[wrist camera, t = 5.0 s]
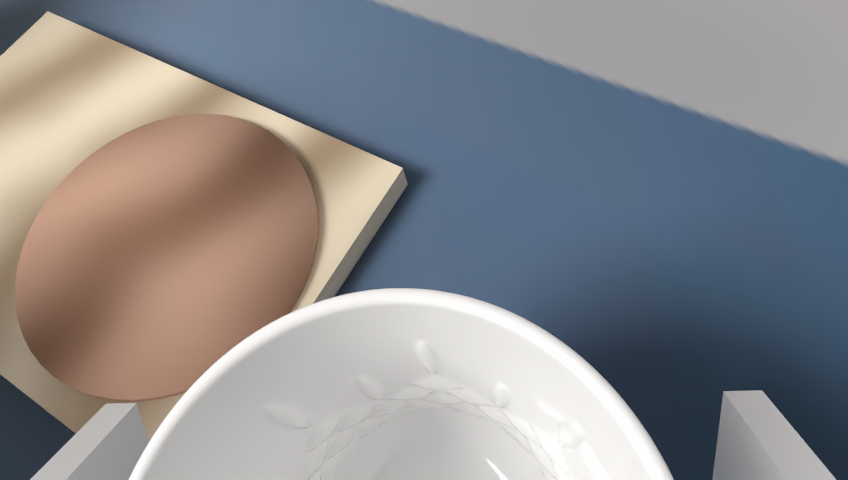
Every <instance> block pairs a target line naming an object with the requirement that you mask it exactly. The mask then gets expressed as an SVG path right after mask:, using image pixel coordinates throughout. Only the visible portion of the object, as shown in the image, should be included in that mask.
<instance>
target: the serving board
mask: <svg viewBox="0 0 848 480" xmlns="http://www.w3.org/2000/svg"><path fill="white" fill-rule="evenodd" d="M407 185H408V184H407V181H406V177H405V174H404V170H403V168H402V167H399V166H397V165H395V164H393V163H390V162H388V161H386V160H384V159H381V158H379V157H377V156H374V155H372V154H370V153H368V152H365V151H363V150H361V149H359V148H356V147H354V146H352V145H350V144H347V143H345V142H343V141H341V140H338V139H336V138H334V137H331V136H329V135H327V134H325V133H322V132H320V131H318V130H316V129H313V128H311V127H309V126H307V125H304V124H302V123H300V122H297V121H295V120H293V119H291V118H288V117H286V116H284V115H282V114H279V113H277V112H275V111H273V110H270V109H268V108H266V107H264V106H261V105H259V104H257V103H254V102H252V101H250V100H248V99H245V98H243V97H241V96H239V95H236V94H234V93H232V92H230V91H227V90H225V89H223V88H220V87H218V86H216V85H214V84H211V83H209V82H207V81H205V80H202V79H200V78H198V77H196V76H193V75H191V74H189V73H187V72H184V71H182V70H180V69H177V68H175V67H173V66H171V65H168V64H166V63H164V62H162V61H159V60H157V59H155V58H153V57H150V56H148V55H146V54H143V53H141V52H139V51H137V50H134V49H132V48H130V47H128V46H125V45H123V44H121V43H119V42H116V41H114V40H112V39H109V38H107V37H105V36H103V35H100V34H98V33H96V32H94V31H91V30H89V29H87V28H85V27H82V26H80V25H78V24H76V23H73V22H71V21H69V20H66V19H64V18H62V17H60V16H57V15H55V14H53V13H51V12H48V11H47V12H46V13H45V14H44V15H43V16H42V17H41V18H40V19H39V20H38V21H37V22H36V23H35V24H34V25H33V26H31V27H30V28H29V29H28V30H27V31H26V32H25V33H24V34H23V35H22V36H21V37H20V38H19V39H18V40H17V41H16V42H15V43H14V44H13V45H11V46H10V47H9V48H8V49H7V50H6V51H5V52H4V53H3V54H2V55H1V56H0V375H2V376H3V377H4V378H6V379H7V380H8V381H9V382H11V383H12V384H13V385H14V386H16V387H17V388H18V389H20V390H21V391H22V392H23V393H25V394H26V395H27V396H28V397H30V398H31V399H32V400H34V401H35V402H36V403H37V404H39V405H40V406H41V407H42V408H44V409H45V410H46V411H48V412H49V413H50V414H51V415H53V416H54V417H55V418H56V419H58V420H59V421H60V422H62V423H63V424H64V425H65V426H67V427H68V428H69V429H70V430H72V431H73V432H74V433H77V432H78V431H79V430H80V429H81V428H82V427H83V426H84V425H85V424H86V423H87V422H88V421H89V420H90V419H91V418H92V417H93V416H94V415H95V414H96V413H97V412H98V411H99V410H100V409H101V408H102V407H103V406H104V405H105V404H111V403H137V406H138V410H139V413H140V416H141V419H142V422H143V425H144V429H145V432H146V435H147V438H148V441H150V440H151V438H152V437H153V435H154V434H155V432H156V431H157V429H158V428H159V426H160V425H161V423H162V422H163V420H164V419H165V418H166V416H167V415H168V414H169V412H170V411H171V410H172V408H173V407H174V406H175V405H176V403H177V402H178V401H179V400H180V398H181V397H182V396H183V395H184V394H185V393H186V391H187V390H188V389H189V388H190V387H191V386H192V385H193V384H194V383H195V382H196V381H197V380H198V379H199V378H200V377H201V376H202V375H203V374H204V373H205V372H206V371H207V370H208V369H209V368H210V367H211V366H212V365H213V364H214V363H215V362H216V361H218V360H219V359H220V358H221V357H222V356H223V355H225V354H226V353H227V352H228V351H230V350H231V349H232V348H233V347H235V346H236V345H237V344H239V343H240V342H241V341H243V340H244V339H246V338H247V337H249V336H250V335H252V334H253V333H255V332H256V331H258V330H259V329H261V328H263V327H264V326H266V325H268V324H270V323H271V322H273V321H275V320H277V319H279V318H281V317H283V316H285V315H287V314H289V313H291V312H293V311H296V310H298V309H300V308H303V307H305V306H308V305H311V304H313V303H316V302H319V301H322V300H325V299H329V298H332V297H335V295H336V294H337V292H338V291H339V289H340V288H341V286H342V284H343V283H344V281H345V280H346V278H347V277H348V275H349V274H350V272H351V271H352V269H353V268H354V266H355V265H356V263H357V262H358V260H359V258H360V257H361V255H362V254H363V252H364V251H365V249H366V248H367V246H368V245H369V243H370V242H371V240H372V239H373V237H374V236H375V234H376V232H377V231H378V229H379V228H380V226H381V225H382V223H383V222H384V220H385V219H386V217H387V216H388V214H389V213H390V211H391V209H392V208H393V206H394V205H395V203H396V202H397V200H398V199H399V197H400V196H401V194H402V193H403V191H404V190H405V188H406V187H407Z"/></svg>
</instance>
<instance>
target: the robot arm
mask: <svg viewBox="0 0 848 480" xmlns="http://www.w3.org/2000/svg"><path fill="white" fill-rule="evenodd" d="M148 443H149V441H148V438H147V435H146V432H145V429H144V425H143V422H142V419H141V416H140V413H139V410H138V406H137V403H111V404H105V405H104V406H103V407H102V408H101V409H100V410H99V411H98V412H97V413H96V414H95V415H94V416H93V417H92V418H91V419H90V420H89V421H88V422H87V423H86V424H85V425H84V426H83V427H82V428H81V429H80V430H79V431H78V432H77V433H76V434H75V435H74V436H73V437H72V438H71V439H70V440H69V441H68V442H67V443H66V444H65V445H64V446H63V447H62V448H61V449H60V450H59V451H58V452H57V453H56V454H55V455H54V456H53V457H52V458H51V459H50V460H49V461H48V462H47V463H46V464H45V465H44V466H43V467H42V468H41V469H40V470H39V471H38V472H37V473H36V474H35V475H34V476H33V477H32V478H31V479H30V480H129V478H130V476H131V474H132V472H133V470H134V468H135V466H136V464H137V462H138V460H139V458H140V457H141V455H142V453H143V451H144V450H145V448H146V446H147V445H148ZM712 480H836V479H835V477H834V476H833V475H832V474H831V473H830V471H829V470H828V469H827V468H826V467H825V465H824V464H823V463H822V462H821V461H820V459H819V458H818V457H817V456H816V455H815V453H814V452H813V451H812V450H811V449H810V447H809V446H808V445H807V444H806V443H805V441H804V440H803V439H802V438H801V437H800V435H799V434H798V433H797V432H796V431H795V429H794V428H793V427H792V426H791V425H790V423H789V422H788V421H787V420H786V419H785V417H784V416H783V415H782V414H781V413H780V411H779V410H778V409H777V408H776V407H775V405H774V404H773V403H772V402H771V400H770V399H769V398H768V397H767V396H766V394H765V393H764V392H763V391H762V390H757V391H723V399H722V407H721V415H720V423H719V431H718V439H717V447H716V455H715V463H714V471H713V479H712Z"/></svg>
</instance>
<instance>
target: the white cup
mask: <svg viewBox="0 0 848 480" xmlns="http://www.w3.org/2000/svg"><path fill="white" fill-rule="evenodd" d="M129 480H674V479H673V477H672V475H671V473H670V471H669V469H668V467H667V465H666V463H665V461H664V459H663V457H662V456H661V454H660V452H659V450H658V449H657V447H656V445H655V444H654V442H653V440H652V439H651V437H650V436H649V434H648V432H647V431H646V429H645V428H644V426H643V425H642V424H641V422H640V421H639V419H638V418H637V417H636V415H635V414H634V413H633V411H632V410H631V409H630V407H629V406H628V405H627V404H626V402H625V401H624V400H623V399H622V397H621V396H620V395H619V394H618V393H617V392H616V390H615V389H614V388H613V387H612V386H611V385H610V384H609V383H608V382H607V381H606V380H605V379H604V378H603V377H602V375H601V374H600V373H599V372H597V371H596V370H595V369H594V368H593V367H592V366H591V365H590V364H589V363H588V362H587V361H586V360H584V359H583V358H582V357H581V356H580V355H579V354H577V353H576V352H575V351H574V350H572V349H571V348H570V347H569V346H567V345H566V344H565V343H563V342H562V341H560V340H559V339H558V338H556V337H555V336H553V335H552V334H550V333H549V332H547V331H545V330H544V329H542V328H541V327H539V326H537V325H535V324H534V323H532V322H530V321H528V320H526V319H524V318H523V317H521V316H518V315H516V314H514V313H512V312H510V311H508V310H505V309H503V308H501V307H498V306H495V305H493V304H490V303H487V302H484V301H481V300H478V299H475V298H471V297H467V296H463V295H459V294H454V293H449V292H443V291H437V290H428V289H416V288H387V289H375V290H366V291H360V292H354V293H349V294H344V295H340V296H336V297H332V298H329V299H325V300H322V301H319V302H316V303H313V304H311V305H308V306H305V307H303V308H300V309H298V310H296V311H293V312H291V313H289V314H287V315H285V316H283V317H281V318H279V319H277V320H275V321H273V322H271V323H270V324H268V325H266V326H264V327H263V328H261V329H259V330H258V331H256V332H255V333H253V334H252V335H250V336H249V337H247V338H246V339H244V340H243V341H241V342H240V343H239V344H237V345H236V346H235V347H233V348H232V349H231V350H230V351H228V352H227V353H226V354H225V355H223V356H222V357H221V358H220V359H219V360H218V361H216V362H215V363H214V364H213V365H212V366H211V367H210V368H209V369H208V370H207V371H206V372H205V373H204V374H203V375H202V376H201V377H200V378H199V379H198V380H197V381H196V382H195V383H194V384H193V385H192V386H191V387H190V388H189V389H188V390H187V391H186V393H185V394H184V395H183V396H182V397H181V398H180V400H179V401H178V402H177V403H176V405H175V406H174V407H173V408H172V410H171V411H170V412H169V414H168V415H167V416H166V418H165V419H164V420H163V422H162V423H161V425H160V426H159V428H158V429H157V431H156V432H155V434H154V435H153V437H152V438H151V440H150V441H149V443H148V445H147V446H146V448H145V450H144V451H143V453H142V455H141V457H140V458H139V460H138V462H137V464H136V466H135V468H134V470H133V472H132V474H131V476H130V478H129Z"/></svg>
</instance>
